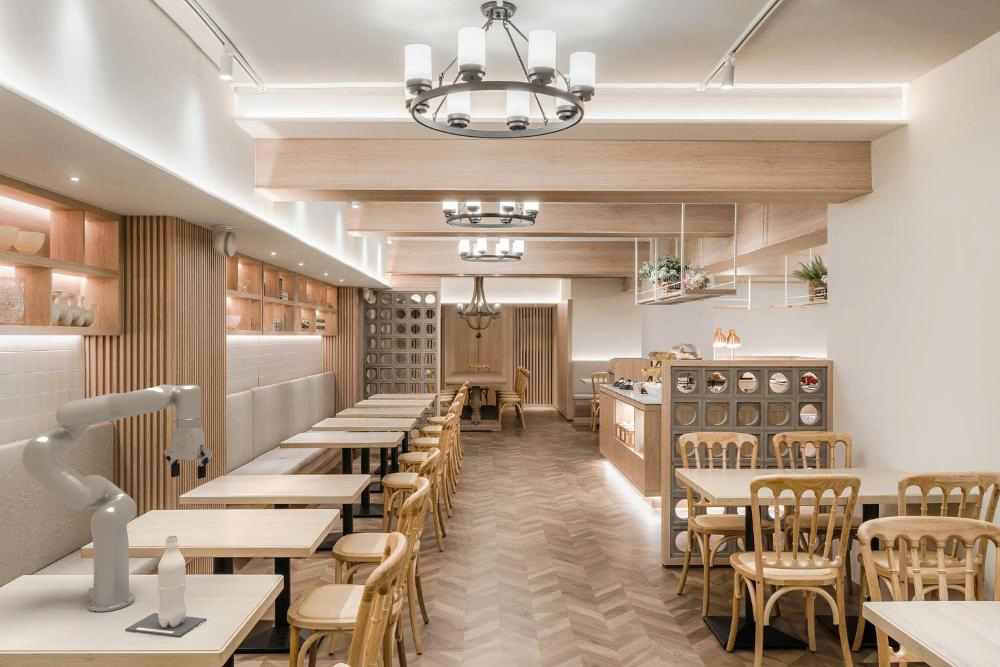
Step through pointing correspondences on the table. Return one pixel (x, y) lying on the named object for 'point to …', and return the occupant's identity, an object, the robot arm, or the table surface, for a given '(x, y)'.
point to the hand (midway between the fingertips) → (188, 477)
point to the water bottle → (171, 585)
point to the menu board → (154, 627)
